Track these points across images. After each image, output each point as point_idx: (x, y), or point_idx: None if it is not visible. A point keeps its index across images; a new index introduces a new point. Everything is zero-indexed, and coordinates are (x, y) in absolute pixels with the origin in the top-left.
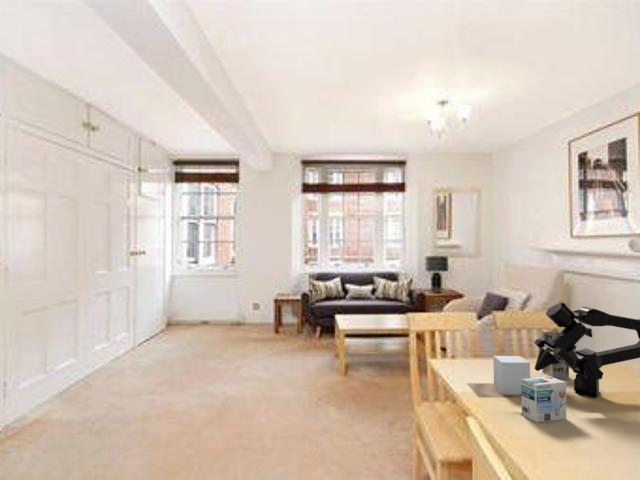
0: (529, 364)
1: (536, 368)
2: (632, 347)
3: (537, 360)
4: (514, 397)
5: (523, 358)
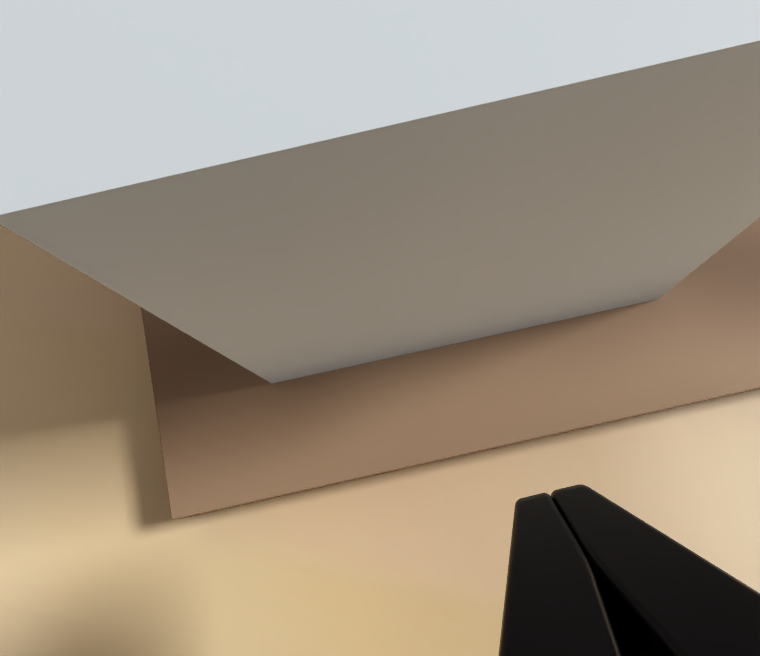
0: (31, 226)
1: (513, 527)
2: None
3: (734, 627)
4: None
5: (636, 60)
